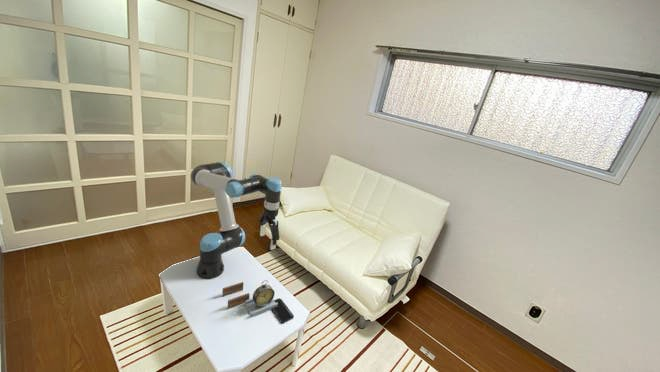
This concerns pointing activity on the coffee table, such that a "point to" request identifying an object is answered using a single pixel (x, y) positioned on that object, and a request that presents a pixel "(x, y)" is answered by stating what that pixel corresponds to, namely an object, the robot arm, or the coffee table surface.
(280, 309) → the phone
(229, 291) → the channel
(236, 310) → the coffee table surface
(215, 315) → the coffee table surface
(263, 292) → the alarm clock
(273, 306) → the cradle
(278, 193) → the robot arm
